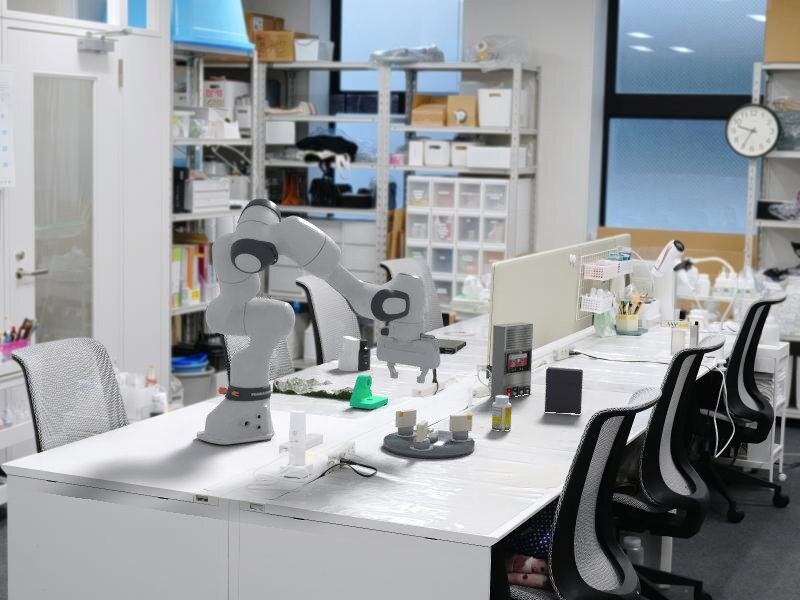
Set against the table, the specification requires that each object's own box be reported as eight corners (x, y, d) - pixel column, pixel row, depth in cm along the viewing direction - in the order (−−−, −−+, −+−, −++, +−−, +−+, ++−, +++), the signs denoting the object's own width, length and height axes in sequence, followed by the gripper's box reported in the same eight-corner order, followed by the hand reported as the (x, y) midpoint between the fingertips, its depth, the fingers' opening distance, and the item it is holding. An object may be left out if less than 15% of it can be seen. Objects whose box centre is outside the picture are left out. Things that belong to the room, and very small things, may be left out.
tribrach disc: (431, 464, 306) (431, 444, 305) (364, 446, 323) (364, 427, 322) (493, 448, 323) (493, 430, 323) (426, 432, 341) (427, 415, 340)
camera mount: (370, 412, 366) (371, 380, 365) (349, 409, 370) (350, 377, 368) (389, 405, 377) (389, 374, 375) (368, 403, 380) (368, 371, 379)
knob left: (416, 443, 318) (416, 420, 317) (432, 444, 317) (432, 421, 316) (410, 448, 312) (411, 425, 311) (426, 450, 311) (427, 426, 310)
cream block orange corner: (409, 430, 333) (409, 408, 332) (418, 433, 329) (419, 411, 328) (392, 432, 329) (392, 410, 328) (401, 436, 326) (402, 413, 325)
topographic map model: (319, 377, 424) (319, 363, 424) (394, 385, 413) (395, 371, 413) (272, 395, 391) (272, 380, 391) (353, 403, 380) (353, 388, 380)
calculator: (581, 416, 367) (583, 369, 365) (579, 419, 363) (581, 371, 361) (546, 413, 370) (548, 366, 368) (544, 416, 366) (546, 368, 364)
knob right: (452, 440, 322) (453, 417, 322) (447, 436, 327) (448, 413, 326) (473, 439, 324) (473, 416, 323) (468, 435, 328) (468, 413, 327)
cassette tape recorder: (503, 403, 384) (506, 327, 381) (490, 400, 389) (492, 325, 386) (532, 398, 393) (535, 324, 390) (518, 395, 398) (521, 321, 395)
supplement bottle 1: (354, 374, 428) (355, 341, 426) (349, 371, 434) (349, 338, 433) (372, 373, 430) (373, 341, 429) (366, 370, 437) (367, 338, 435)
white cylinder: (334, 369, 434) (334, 337, 433) (356, 367, 438) (357, 335, 437) (344, 373, 426) (345, 340, 425) (366, 371, 430) (367, 339, 429)
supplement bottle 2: (509, 428, 348) (511, 394, 347) (511, 433, 342) (512, 398, 341) (490, 428, 348) (492, 394, 347) (492, 432, 342) (493, 398, 341)
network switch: (402, 357, 469) (402, 345, 468) (411, 348, 492) (411, 336, 491) (460, 360, 465) (460, 348, 464) (467, 351, 488) (467, 339, 487)
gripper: (445, 334, 323) (444, 384, 324) (387, 326, 335) (386, 374, 337) (431, 336, 318) (430, 387, 319) (373, 328, 330) (372, 377, 332)
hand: (407, 380), depth 328 cm, fingers open, 8 cm apart
